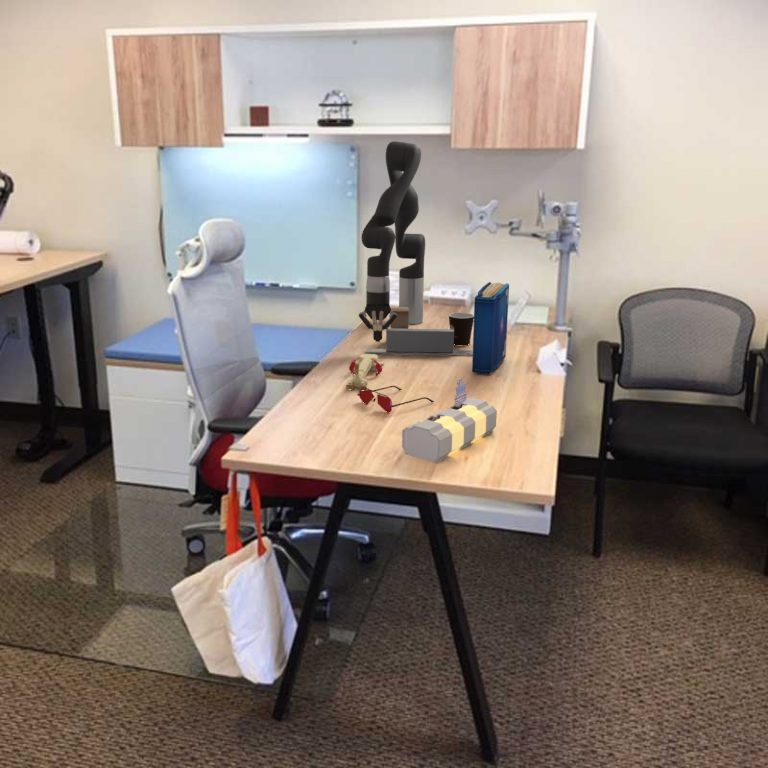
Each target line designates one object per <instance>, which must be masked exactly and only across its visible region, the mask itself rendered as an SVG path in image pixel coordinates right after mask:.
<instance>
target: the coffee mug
mask: <svg viewBox="0 0 768 768" xmlns="http://www.w3.org/2000/svg"><path fill="white" fill-rule="evenodd" d="M448 321H449V323H448V324H449V329H454V344H455V345H467V346H469V345H471V338H472V330H473V327H474V313H473V314H472V313H469V312H453V313H449V314H448ZM468 344H469V345H468ZM455 345H454V346H455Z"/></svg>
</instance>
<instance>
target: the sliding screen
mask: <svg viewBox="0 0 768 768" xmlns="http://www.w3.org/2000/svg"><path fill="white" fill-rule="evenodd" d="M385 333H386V334H385V337H386V338H385V341H386V342H385V349H386V351H394V352H453V350H455V348H454V347H455V345H454V329H450V328H449V329H448V328H443V329H442V328H408V329H395V328H391V327H390V328H389V327H388V328H387V329H385Z"/></svg>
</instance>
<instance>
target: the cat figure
mask: <svg viewBox="0 0 768 768" xmlns="http://www.w3.org/2000/svg"><path fill="white" fill-rule="evenodd" d="M358 360H359V361H358ZM384 364H385V362H382V361H379V355H376V354H365V353H362V354H361V355H360V357H358V358H355V359H353V361H351V362H350V365H349V366H348V371H350V374H353V377H351V378H350V379H348V383H347V384H346V387H345V388H346V390H348V389H352V390H354V389H355V388H358V390H359V391H361V389H362V388H363V389H362V390H367V389H368V380H367V375H368V373H369V371H376V372H375V377H377V376H378V375H379V376H380V375H381V373H382V372H383V367H384V366H385V365H384ZM354 374H355V375H354ZM364 388H367V389H364Z"/></svg>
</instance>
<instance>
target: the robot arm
mask: <svg viewBox="0 0 768 768" xmlns="http://www.w3.org/2000/svg"><path fill="white" fill-rule="evenodd" d="M421 158H422V150H421V146H420V145H418V144H416V143H412V142H411V143H410V142H406V141H405V142H404V141H396V140H395V141H391V142H389V143H388V144H387V146H386V148H385V164H386V170H387V173H388V178H389V179H388V180H389V183H390V186H389V187H388V188H386V189H385V190H384V192H382V194H381V196H380V198H379V200H378V203H377V205H376V209H375V212H374V214H373V215H372V216H371V218H370V219H369V221H368V222H367V223H366V225H365V226H364V228H363V230H362V233H361V243H362V246H363V247H365V248H367V249H374V250H380V252H379V255H372V256H370V257H368V258H367V261H366V262H367V263H366V265H367V267H366V268H367V269H366V270H367V271H366V272H367V273H366V276H367V277H366V286H365V290H366V293H365V294H366V296H365V299H366V302H365V303H366V305H365V306H364V310H363V311H360V312H359V313H358V318H359V319H360V320H361V321H362V323H363V324H364V325H365V327H366V328H367V329H368V330H372V331H373V333H372V334H373V337H372V339H373V340H374V341H375V343H380V342H381V341H382V340H383V331H384V330H386V329H387V328H389V327H391V323H392V322H393V321H394V320H395V318H396V317H397V314H396V313H394V312H393V311H391V307H392V306H391V305H390V302H391V300H390V297H391V296H390V293H391V292H390V290H391V286H390V285H391V284H390V283H391V282H390V261H391V256H392V252H393V249H394V246H395V253H396V256H397V257H398V258H399V259H403V260H404V259H405V260H406V259H408V260H410V259H411V260H415V261H414V263H412V264H410V265H408V266H405V267H402V268H400V269H399V272H398V275H399V277H398V283H399V284H398V307H409V320H408V325H417V324H422V323H423V321H424V289H425V286H424V283H425V282H424V281H425V278H424V277H425V271H424V270H425V254H426V253H425V252H426V237H425V235H424V234H422V233H406V231H407V229H408V228H409V227H410V226H411V225H412V223H413V222H414V220H415V219H416V218H417V217H418V214H419V210H420V209H419V208H420V207H419V196H418V193H417V191H416V189H415V188H414V186H413V185H412V182H413V180H414V178H415V175H416V173H417V172H418V169H419V166H420V163H421V160H422V159H421ZM393 225H394V230H393V228H391V227H392V226H393ZM390 226H391V227H390ZM367 316H368V317H369V319H370V320H371V321H372V323H371V322H370V321H369V319H368V318H367ZM388 316H389V318H388V319H387V317H388ZM385 319H387V321H386V322H385V323H384V320H385Z"/></svg>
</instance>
